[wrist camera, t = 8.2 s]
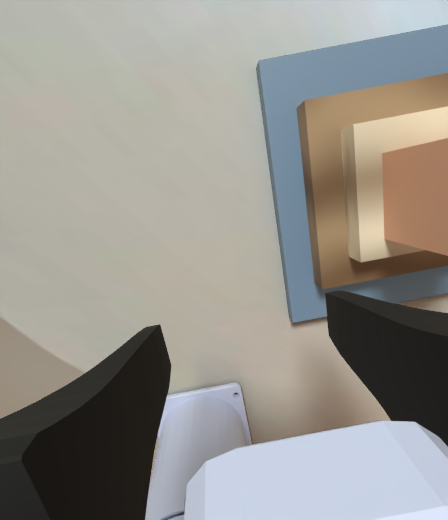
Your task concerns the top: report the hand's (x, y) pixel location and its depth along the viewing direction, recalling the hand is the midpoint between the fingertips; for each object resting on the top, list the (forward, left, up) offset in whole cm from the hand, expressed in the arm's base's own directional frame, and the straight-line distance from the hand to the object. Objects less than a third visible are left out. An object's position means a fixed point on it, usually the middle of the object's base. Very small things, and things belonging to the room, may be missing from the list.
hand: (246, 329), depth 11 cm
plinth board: (+4, -12, -9) cm, 16 cm away
